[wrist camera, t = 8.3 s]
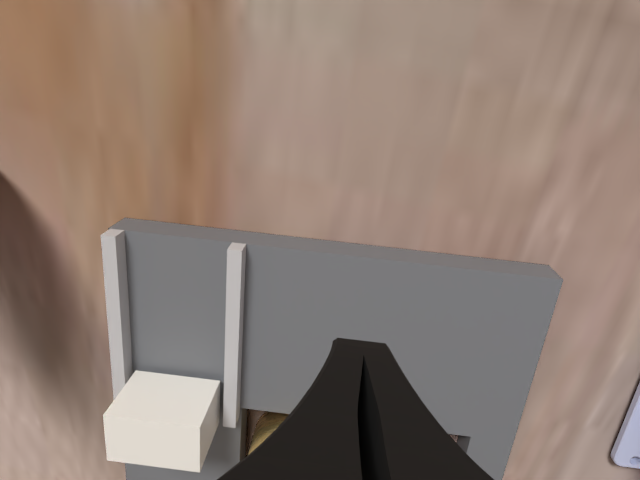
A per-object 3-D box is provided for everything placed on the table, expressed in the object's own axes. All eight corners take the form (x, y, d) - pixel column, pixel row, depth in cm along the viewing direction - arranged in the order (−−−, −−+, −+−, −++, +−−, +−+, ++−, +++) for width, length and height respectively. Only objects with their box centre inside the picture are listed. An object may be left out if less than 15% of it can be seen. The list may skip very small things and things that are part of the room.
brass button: (334, 410, 23) (332, 447, 21) (326, 469, 25) (323, 511, 22) (256, 400, 24) (246, 436, 21) (253, 460, 25) (242, 500, 23)
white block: (220, 380, 21) (200, 427, 19) (219, 421, 22) (199, 472, 19) (135, 370, 22) (102, 415, 19) (138, 411, 22) (106, 460, 20)
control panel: (548, 265, 20) (571, 288, 18) (472, 526, 26) (483, 567, 24) (124, 217, 21) (98, 234, 19) (140, 482, 26) (121, 519, 24)
